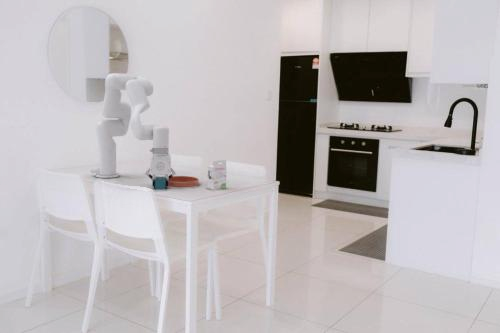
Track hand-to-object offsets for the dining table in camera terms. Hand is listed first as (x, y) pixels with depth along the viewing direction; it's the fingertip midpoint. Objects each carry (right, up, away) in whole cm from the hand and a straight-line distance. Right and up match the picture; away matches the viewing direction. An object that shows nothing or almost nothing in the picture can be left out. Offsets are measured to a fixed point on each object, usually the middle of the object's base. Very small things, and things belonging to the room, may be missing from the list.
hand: (160, 187), depth 232 cm
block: (0, -1, 0) cm, 1 cm away
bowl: (+8, +1, +14) cm, 16 cm away
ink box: (+27, -1, +7) cm, 28 cm away
